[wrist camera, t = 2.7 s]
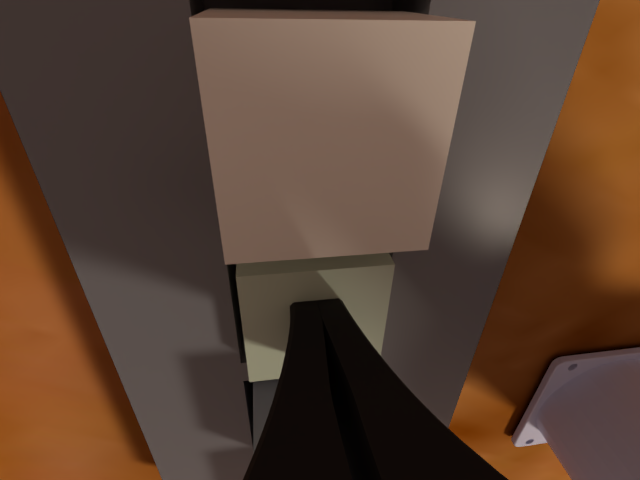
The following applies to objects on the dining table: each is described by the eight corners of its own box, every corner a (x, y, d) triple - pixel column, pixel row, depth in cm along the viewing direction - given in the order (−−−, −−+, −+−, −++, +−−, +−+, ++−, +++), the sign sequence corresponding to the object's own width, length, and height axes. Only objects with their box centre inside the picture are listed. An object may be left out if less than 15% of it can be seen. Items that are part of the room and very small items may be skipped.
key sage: (364, 205, 12) (395, 264, 10) (355, 298, 15) (378, 367, 12) (239, 212, 12) (235, 276, 9) (249, 308, 14) (249, 382, 11)
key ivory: (402, 10, 8) (475, 21, 6) (382, 183, 10) (427, 249, 8) (210, 8, 8) (188, 17, 5) (231, 190, 10) (224, 264, 7)
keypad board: (534, -72, 10) (632, -93, 7) (403, 445, 23) (422, 501, 20) (12, -97, 8) (-94, -136, 6) (195, 475, 21) (187, 540, 19)
